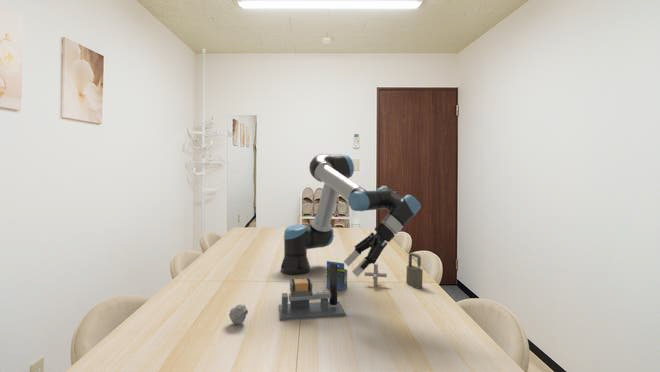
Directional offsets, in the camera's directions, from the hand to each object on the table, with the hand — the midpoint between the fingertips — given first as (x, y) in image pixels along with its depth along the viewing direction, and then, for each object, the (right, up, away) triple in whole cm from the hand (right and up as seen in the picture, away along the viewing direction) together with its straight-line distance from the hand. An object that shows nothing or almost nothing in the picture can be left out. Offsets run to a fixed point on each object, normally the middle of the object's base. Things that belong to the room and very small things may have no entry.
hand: (350, 268), depth 136 cm
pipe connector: (+13, -15, +29) cm, 35 cm away
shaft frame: (-15, -16, -1) cm, 22 cm away
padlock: (+31, -15, +30) cm, 46 cm away
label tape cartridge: (-5, -15, +25) cm, 30 cm away
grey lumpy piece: (-40, -17, -12) cm, 44 cm away
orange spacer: (-19, -9, -2) cm, 21 cm away
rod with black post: (-14, -14, -1) cm, 19 cm away
